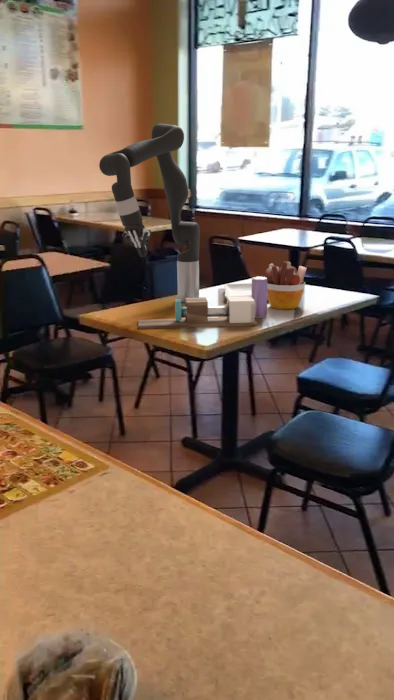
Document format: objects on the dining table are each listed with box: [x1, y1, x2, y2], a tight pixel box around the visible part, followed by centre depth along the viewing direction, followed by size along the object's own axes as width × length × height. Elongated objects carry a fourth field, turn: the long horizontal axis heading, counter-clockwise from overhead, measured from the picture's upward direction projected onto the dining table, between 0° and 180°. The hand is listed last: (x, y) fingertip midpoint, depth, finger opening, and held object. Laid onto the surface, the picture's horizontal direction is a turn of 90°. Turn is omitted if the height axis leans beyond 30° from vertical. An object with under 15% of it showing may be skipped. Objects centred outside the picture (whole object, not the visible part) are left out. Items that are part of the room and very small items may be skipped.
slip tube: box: [174, 298, 229, 321], centre depth 233 cm, size 25×5×7 cm, turn 94°
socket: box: [226, 296, 255, 323], centre depth 234 cm, size 9×9×8 cm
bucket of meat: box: [264, 261, 307, 311], centre depth 257 cm, size 20×16×20 cm
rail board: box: [138, 296, 258, 330], centre depth 233 cm, size 10×43×9 cm, turn 94°
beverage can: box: [251, 276, 268, 319], centre depth 242 cm, size 6×6×15 cm
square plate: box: [224, 282, 269, 303], centre depth 281 cm, size 27×27×4 cm
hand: (143, 256), depth 233 cm, fingers closed
